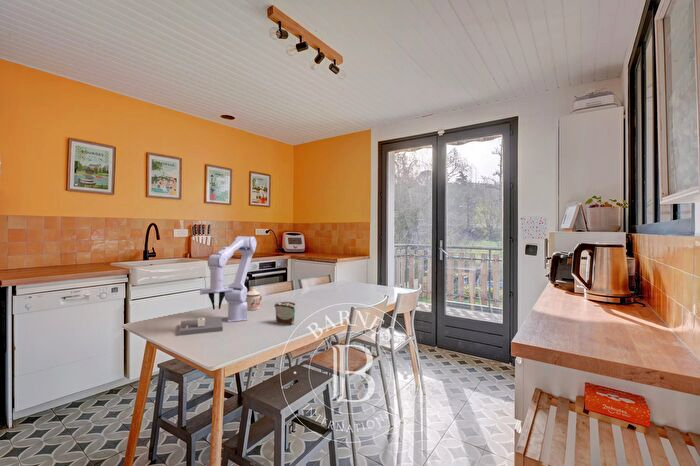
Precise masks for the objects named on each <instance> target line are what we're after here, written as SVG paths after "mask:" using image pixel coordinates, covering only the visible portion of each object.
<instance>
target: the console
mask: <svg viewBox="0 0 700 466" xmlns="http://www.w3.org/2000/svg"><path fill="white" fill-rule="evenodd" d="M222 320H223V319H222V317H212V318H211V317H209V318H205V326H200V327H198V318H197V319H191V320H190V319H188V320H181V321H180V325H179V329H178V336H188V335H198V334H207V333H216V332H223V328H224V325H223V321H222Z"/></svg>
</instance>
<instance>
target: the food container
mask: <svg viewBox="0 0 700 466" xmlns="http://www.w3.org/2000/svg"><path fill="white" fill-rule="evenodd" d="M273 307H274V309H275V322H276V324H280V323H282V325H286V324H288V325H287V326H291V325H292V326H293V325H294V323H295V313H296V310H297V304H296V302H292V301H279V302H278V301H277V302H274V306H273Z"/></svg>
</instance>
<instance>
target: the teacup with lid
mask: <svg viewBox="0 0 700 466" xmlns="http://www.w3.org/2000/svg"><path fill="white" fill-rule="evenodd" d="M262 299H263V295H262V294H261V292H260V291H257V290H256V289H255V288H250V290H249V291H248V290H247V297H246V300H245V301H244V302H247V311H257V310H260V308H261V302H262V301H263V300H262Z"/></svg>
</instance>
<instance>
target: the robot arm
mask: <svg viewBox="0 0 700 466" xmlns="http://www.w3.org/2000/svg"><path fill="white" fill-rule="evenodd" d="M257 244H258V243H257V239H256V237H255V236H243V235H242V236H241V235H238V236H236V237H234V241H233V242H232V243H231V244H230V245H229V246H223V247H222V248H221V249H220V250H218V251H217V252H216V253H215V254H211V255H210V256H209V257H208V258H207V259H208V260H207V265H208V268H209V271H210V277H209V280H210V281H209V282H210V284H209V285H210V287H209V288H206V289H205V288H204V289H199V295H201V296H202V295H208V298H209V299H210V302H211V306H212V310H215V309H216V308H215V307H216V306H215V294H218V309H219V310H221V307H222V306H221V305H222V302H223V300H224V299H225V301H226V303H227V305H228V306H227V314H228V315H227V316H226V320H227V323H231V322H233V323H234V322H242V321H248V310H247V302H245V300H246V297H247V292H248V288H247V287H246V286H245V282H246V279H247V274H248V272H249V268H250V265H251V262H252V259H253V258H252V257H253V255H254V254H255V251H256V248H257ZM236 251H238V252H239V253H240V254H241V257H240V261H239V264H238V267H237V270H236V274H235V278H234V281H233V283H231V284H229V285H228V287H224V268H225V267H226V265H227V262H228V261H229V259H231V258H232V257H233V256H234V253H235V252H236Z"/></svg>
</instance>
